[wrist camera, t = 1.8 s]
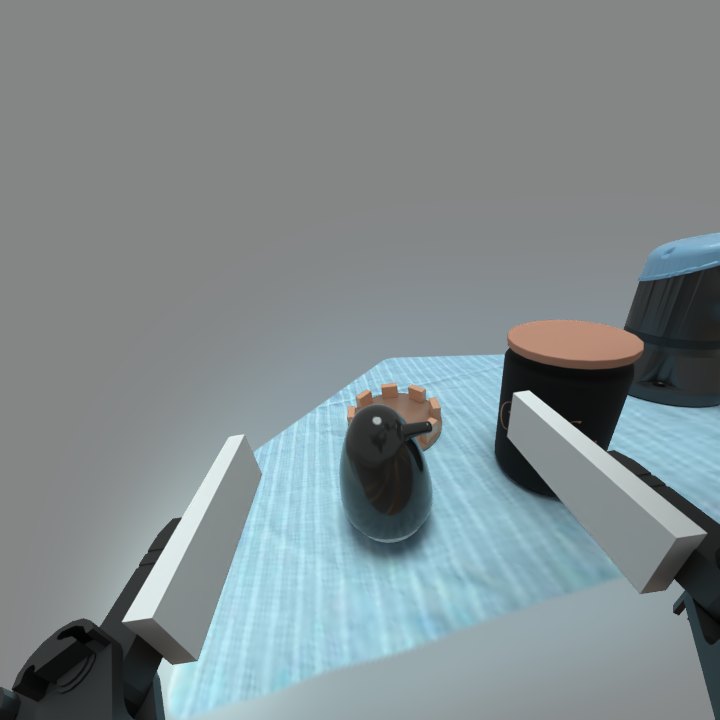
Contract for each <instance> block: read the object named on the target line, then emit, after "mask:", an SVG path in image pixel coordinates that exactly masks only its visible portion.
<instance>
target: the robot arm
mask: <svg viewBox="0 0 720 720" xmlns="http://www.w3.org/2000/svg"><path fill="white" fill-rule="evenodd" d="M638 280H639V281H640V282H639V285H638V288H637V291H636V294H635V297H634V300H633V303H632V306H631V308H630V311H629V314H628V317H627V321H626V324H625V327H624V330H625V331H627V332H629V333H632V334H634V335H636V336H637V337H638V338H639V339H640V340H642V341H643V342H644V351H643V353H642V355H641V357H640V358H639V359H637V360H636V361H634V362H633V364H634V365H635V370H634V379H633V381H632V384H631V387H630V389H629V392H628V394H630V395H632V396H635V397H639V398H642V399H646V400H650V401H654V402H659V403H664V404H670V405H677V406H689V407H704V406H713V405H718V404H720V233H714V234H707V235H702V236H696V237H691V238H686V239H682V240H677V241H673V242H670V243H667V244H664V245H662V246H660V247H658V248H656V249H655V250H653V251H652V252H651V253H650V255H649V256H648V258H647V261H646V263H645V266H644V268H643V271H642V274H641V275H640V276H639V277H638ZM507 437H508V438H509V439H510V441H511V442H512V443H513V444H514V445H515V446H516V448H517V449H518V450H519V451H520V452H521V454H522V455H523V456H524V457H525V458H526V459H527V461H528V462H529V463H530V464H531V465H532V467H533V468H534V469H535V470H536V471H537V473H538V474H539V475H540V476H541V477H542V478H543V480H544V481H545V482H546V483H547V484H548V486H549V487H550V488H551V489H552V490H553V492H554V493H555V494H556V495H557V496H558V497H559V499H560V500H561V501H562V502H563V503H564V505H565V506H566V507H567V508H568V509H569V511H570V512H571V513H572V514H573V515H574V516H575V518H576V519H577V520H578V521H579V522H580V524H581V525H582V526H583V527H584V528H585V529H586V531H587V532H588V533H589V534H590V535H591V537H592V538H593V539H594V540H595V541H596V543H597V544H598V545H599V546H600V547H601V548H602V550H603V551H604V552H605V553H606V554H607V556H608V557H609V558H610V559H611V560H612V562H613V563H614V564H615V565H616V566H617V567H618V569H619V570H620V571H621V572H622V573H623V575H624V576H625V577H626V578H627V579H628V580H629V582H630V583H631V584H632V585H633V586H634V587H635V589H636V590H637V591H638V592H639V594H643V593H650V592H657V591H663V590H666V589H667V588H668V587H669V585H670V584H671V583H672V581H673V580H674V579H675V580H676V581H677V582H678V583H679V584H680V585H681V586H682V587H683V588H684V589H685V591H684V592H683V594H682V595H681V596H680V598H679V599H678V600H677V601H676V602H675V604H674V605H673V613H675V614H677V615H680V613H681V612H682V611H683V610H684V609H685V608H686V611H687V614H688V620H689V622H690V626H691V629H692V633H693V637H694V641H695V644H696V648H697V652H698V656H699V660H700V663H701V667H702V671H703V674H704V678H705V682H706V686H707V690H708V694H709V697H710V701H711V705H712V709H713V712H714V716H715V720H720V524H718V523H717V522H716V521H714V520H713V519H712V518H710V517H709V516H708V515H706V514H705V513H704V512H702V511H701V510H700V509H698V508H697V507H696V506H694V505H693V504H692V503H690V502H689V501H688V500H686V499H685V498H684V497H682V496H681V495H680V494H678V493H677V492H676V491H674V490H673V489H672V488H670V487H667V486H666V485H665V483H664V482H662V481H661V480H660V479H658V478H657V477H656V476H652V475H651V473H650V472H649V471H648V470H646V469H645V468H644V467H642V466H641V465H640V464H638V463H637V462H636V461H634V460H633V459H631V458H629V457H627V456H625V455H623V454H621V453H619V452H617V451H615V450H613V451H607V452H605V451H604V450H603V449H602V448H600V447H599V446H598V445H597V444H595V443H594V442H593V441H592V440H590V439H589V438H588V437H587V436H585V435H584V434H583V433H582V432H580V431H579V430H578V429H577V428H575V427H574V426H573V425H572V424H570V423H569V422H568V421H567V420H565V419H564V418H563V417H562V416H560V415H559V414H558V413H557V412H555V411H554V410H553V409H552V408H550V407H549V406H548V405H547V404H545V403H544V402H543V401H542V400H540V399H539V398H538V397H537V396H535V395H534V394H533V393H532V392H530V391H522V392H516V393H513V399H512V406H511V413H510V420H509V427H508V434H507ZM261 476H262V473H261V471H260V468H259V466H258V464H257V461H256V459H255V457H254V454H253V452H252V450H251V447H250V445H249V443H248V441H247V439H246V436H245V434H244V435H237V436H231V437H229V438H228V440H227V441H226V443H225V445H224V446H223V448H222V450H221V452H220V453H219V455H218V457H217V459H216V460H215V462H214V464H213V465H212V467H211V469H210V471H209V472H208V474H207V476H206V478H205V479H204V481H203V483H202V484H201V486H200V488H199V490H198V491H197V493H196V495H195V497H194V498H193V500H192V502H191V504H190V505H189V507H188V509H187V510H186V512H185V514H184V516H183V517H181V518H175V519H172V520H171V521H170V522H169V523H168V524H167V525H166V526H165V528H164V529H163V530H162V531H161V532H160V533H159V534H158V535H157V537H156V539H155V540H154V542H153V543H152V545H151V546H150V548H149V550H148V553H147V554H145V556H144V558H143V559H142V561H141V562H140V564H139V568H137V569H136V570H135V572H134V574H133V575H132V577H131V578H130V580H129V581H128V583H127V585H126V586H125V588H124V589H123V591H122V593H121V594H120V596H119V598H118V599H117V601H116V602H115V604H114V605H113V607H112V609H111V610H110V612H109V613H108V615H107V616H106V618H105V620H104V621H103V623H102V625H101V626H100V627H98V626H97V625H95V624H94V623H93V622H91V621H90V620H87V619H84V618H83V619H80V620H76V621H72V622H71V623H69V624H67V625H66V626H64V627H62V628H61V629H59V630H58V631H56V632H55V633H54V634H53V635H52V636H50V638H48V639H47V640H46V641H45V642H43V643H42V644H41V646H40V647H39V648H38V649H37V650H36V651H35V652H34V653H33V654H32V656H31V657H30V658H29V659H28V660H27V662H26V663H25V665H24V666H23V668H22V669H21V671H20V672H19V674H18V675H17V678H16V680H15V683H14V685H13V687H12V690H13V692H11V691H9V690H7V689H4V688H2V687H0V720H165V714H164V707H163V699H162V692H161V685H160V678H159V676H158V673H157V669H158V667H159V665H160V662H161V660H162V658H165V659H166V660H167V661H168V662H169V663H171V664H172V665H174V664H181V663H188V662H194V661H198V659H199V656H200V653H201V650H202V647H203V644H204V641H205V638H206V636H207V633H208V630H209V627H210V624H211V621H212V618H213V615H214V612H215V609H216V607H217V604H218V601H219V598H220V595H221V592H222V589H223V586H224V583H225V580H226V577H227V575H228V572H229V569H230V566H231V563H232V560H233V557H234V554H235V551H236V548H237V546H238V543H239V540H240V537H241V534H242V531H243V528H244V525H245V522H246V519H247V517H248V514H249V511H250V508H251V505H252V502H253V499H254V496H255V493H256V490H257V488H258V485H259V482H260V479H261Z"/></svg>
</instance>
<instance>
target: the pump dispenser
mask: <svg viewBox="0 0 720 720" xmlns="http://www.w3.org/2000/svg"><path fill="white" fill-rule="evenodd" d="M432 430H433V427H432V424H431V422H430V421H422V422H415V423H407V422H406V421H405V419H404V418H403V417H402V416H401V415H400V414H399V413H398V412H397V411H395V410H394V409H393V408H391V407H389V406H386V405H382V404H372V405H368V406H366V407H364V408H362V409H361V410H359V411H358V412H357V413H356V414H355V416H354V417H353V419H352V420H351V422H350V424H349V427H348V429H347V432H346V435H345V438H344V442H343V446H342V451H341V458H340V470H339V479H340V493H341V500H342V505H343V508H344V511H345V514H346V516H347V518H348V519H349V521H350V522H351V523H352V525H353V526H354V527H355V528H356V529H358V530H359V531H360V532H362V533H363V534H365V535H366V536H368V537H369V538H371V539H373V540H376V541H379V542H385V543H393V542H398V541H402V540H404V539H406V538H408V537H410V536H411V535H413V534H414V533H415V532H416V531H417V530H418V529H419V527H420V526H421V525H422V524H423V523H424V521H425V520H426V518H427V517H428V515H429V513H430V510H431V507H432V500H433V490H432V482H431V477H430V473H429V469H428V465H427V462H426V459H425V456H424V453H423V451H422V449H421V446H420V444H419V442H418V440H417V438H416V437H417V436H421V435H424V434H428V433H431V432H432Z"/></svg>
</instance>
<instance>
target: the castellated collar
mask: <svg viewBox="0 0 720 720" xmlns="http://www.w3.org/2000/svg"><path fill="white" fill-rule="evenodd" d="M381 388H382V395H379V396H376V397H373V398H372V394H371V391H369V390H365V391H364V392H362V393H361V394H359V395H358V396H356V402H357V408H356V409H355V406H350V407H348V414H347V419H348V427H349V424H350V422H351V420H352V419H353V417H354V416H355V414H356V413H357V412H358V411H359V410H361V409H362V408H364V407H366V406H368V405H372V404H382V405H386V406H389V407H391V408H393V409H394V410H395V411H397V412H398V413H399V414H400V415H401V416H402V417H403V418H404V419H405V421H406V422H407V423H415V422H422V421H430V422H431V424H432V427H433V430H432V432H431V433H428V434H424V435H421V436H417V437H416V438H417V440H418V442H419V444H420V446H421V449H422V451H425V450H426V449H428V448H429V447H431V446H432V445H433V444H434V443H435V442H436V440H437V439H438V437H439V435H440V433H441V429H442V420H441V408H440V406H439V403H438V401H437V399H436V397H435V398H429V401H427V400H426V389H424V388H421V387H418V386H415V385H411V386H409V387H408V391H409V394H406V393H398V391H397V384H396V383H391V384H382V385H381Z"/></svg>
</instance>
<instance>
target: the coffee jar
mask: <svg viewBox="0 0 720 720" xmlns="http://www.w3.org/2000/svg"><path fill="white" fill-rule="evenodd" d="M507 337H508V339H507V340H508V346H509V347H510V348H509V349H508V350H507V351H506V353H505V359H504V368H503V377H502V386H501V395H500V404H499V413H498V422H497V431H496V440H495V454H496V456H497V458H498V461H499V463H500V465H501V466H502V467H503V469H504V470H505V471H506V472H507V473H508V474H509V475H510V477H511V478H513V479H514V480H515V481H517V482H518V483H519V484H521V485H522V486H524V487H526V488H528V489H530V490H532V491H535V492H537V493H540V494H544V495H548V496H554V497H558V496H557V495H556V494H555V493H554V492H553V490H552V489H551V488H550V487H549V486H548V484H547V483H546V482H545V481H544V480H543V478H542V477H541V476H540V475H539V474H538V473H537V471H536V470H535V469H534V468H533V467H532V465H531V464H530V463H529V462H528V461H527V459H526V458H525V457H524V456H523V455H522V454H521V452H520V451H519V450H518V449H517V448H516V446H515V445H514V444H513V443H512V442H511V441H510V439H509V438H508V437H507V434H508V427H509V420H510V413H511V406H512V399H513V393H516V392H522V391H530V392H532V393H533V394H534V395H535V396H537V397H538V398H539V399H540V400H542V401H543V402H544V403H545V404H547V405H548V406H549V407H550V408H552V409H553V410H554V411H555V412H557V413H558V414H559V415H560V416H562V417H563V418H564V419H565V420H567V421H568V422H569V423H570V424H572V425H573V426H574V427H575V428H577V429H578V430H579V431H580V432H582V433H583V434H584V435H585V436H587V437H588V438H589V439H590V440H592V441H593V442H594V443H595V444H597V445H598V446H599V447H600V448H602V449H603V450H604V451H605V452H607V449H608V446H609V444H610V441H611V438H612V435H613V433H614V430H615V427H616V425H617V422H618V419H619V417H620V414H621V411H622V408H623V406H624V403H625V400H626V398H627V395H628V392H629V389H630V387H631V384H632V381H633V379H634V370H635V365H634V364H633V362H634V361H636V360H637V359H639V358H640V357H641V355H642V353H643V351H644V342H643V341H642V340H640V339H639V338H638V337H637V336H636V335H634V334H632V333H629V332H627V331H625V330H622V329H619V328H615V327H612V326H608V325H604V324H598V323H592V322H586V321H574V320H546V321H545V320H544V321H534V322H529V323H525V324H521V325H518V326H516V327H514V328H512V329H511V330H510V331H509V332H508V336H507Z"/></svg>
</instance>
